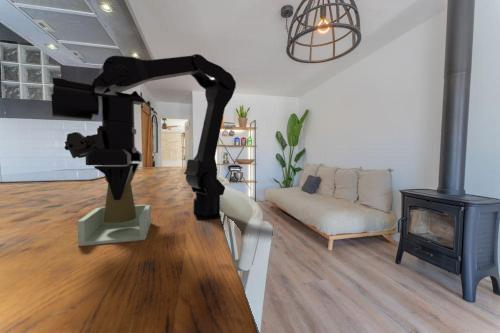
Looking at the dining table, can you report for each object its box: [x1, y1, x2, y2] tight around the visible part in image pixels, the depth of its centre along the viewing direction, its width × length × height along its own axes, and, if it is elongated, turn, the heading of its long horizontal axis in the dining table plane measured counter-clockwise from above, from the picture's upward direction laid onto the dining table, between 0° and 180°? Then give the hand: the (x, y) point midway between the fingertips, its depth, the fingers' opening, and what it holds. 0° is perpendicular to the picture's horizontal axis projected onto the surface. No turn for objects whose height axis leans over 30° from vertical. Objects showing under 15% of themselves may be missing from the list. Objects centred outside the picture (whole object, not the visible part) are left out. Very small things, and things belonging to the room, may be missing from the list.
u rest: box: [77, 203, 152, 247], centre depth 46 cm, size 11×11×5 cm
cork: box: [103, 170, 136, 223], centre depth 46 cm, size 6×6×11 cm
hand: (120, 197), depth 46 cm, fingers closed on cork, 4 cm apart
